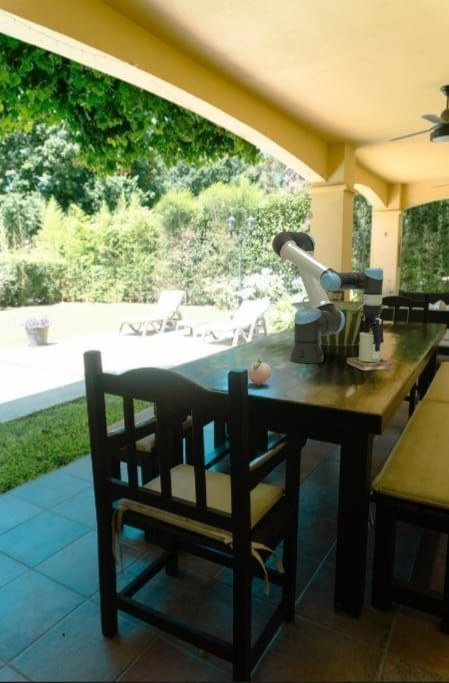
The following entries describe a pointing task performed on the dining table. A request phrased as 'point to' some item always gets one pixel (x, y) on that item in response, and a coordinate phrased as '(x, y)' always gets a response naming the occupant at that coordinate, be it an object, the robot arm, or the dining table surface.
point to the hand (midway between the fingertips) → (369, 356)
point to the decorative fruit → (259, 372)
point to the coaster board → (369, 364)
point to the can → (367, 347)
